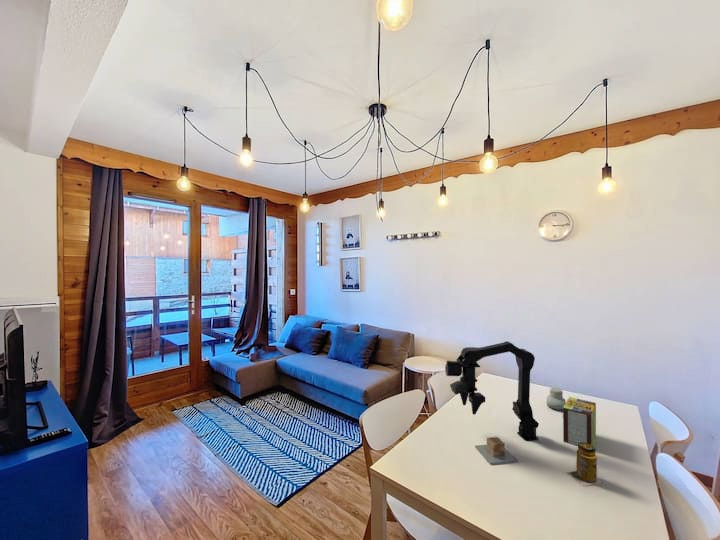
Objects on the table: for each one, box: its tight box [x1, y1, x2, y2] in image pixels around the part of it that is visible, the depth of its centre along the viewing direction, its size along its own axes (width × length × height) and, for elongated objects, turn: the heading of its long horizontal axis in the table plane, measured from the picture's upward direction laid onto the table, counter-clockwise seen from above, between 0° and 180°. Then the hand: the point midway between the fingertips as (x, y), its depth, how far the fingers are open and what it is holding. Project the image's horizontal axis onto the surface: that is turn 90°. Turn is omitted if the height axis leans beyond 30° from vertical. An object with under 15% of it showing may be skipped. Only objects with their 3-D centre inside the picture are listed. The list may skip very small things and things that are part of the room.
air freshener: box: [546, 387, 566, 411], centre depth 169 cm, size 11×8×10 cm
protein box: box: [562, 396, 597, 447], centre depth 138 cm, size 10×15×16 cm
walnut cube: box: [486, 436, 506, 457], centre depth 127 cm, size 5×5×5 cm
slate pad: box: [474, 444, 519, 466], centre depth 127 cm, size 12×12×1 cm
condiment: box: [565, 442, 603, 487], centre depth 113 cm, size 7×8×12 cm
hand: (469, 409), depth 142 cm, fingers open, 9 cm apart
